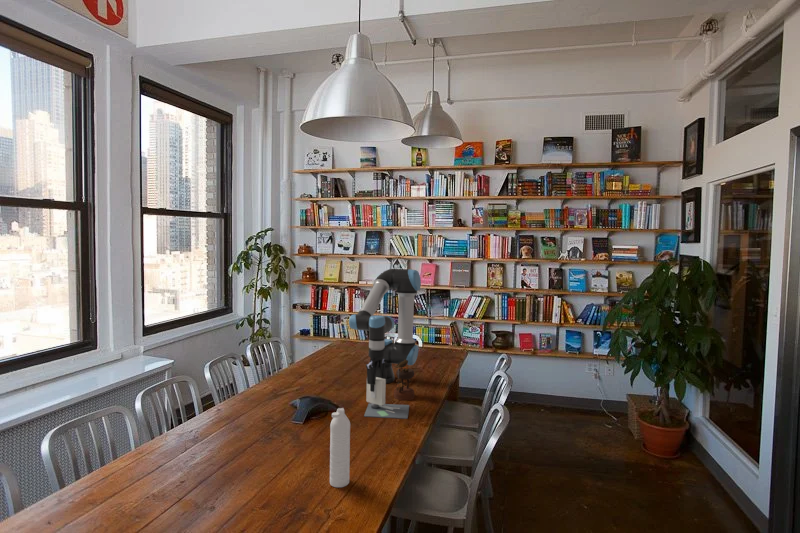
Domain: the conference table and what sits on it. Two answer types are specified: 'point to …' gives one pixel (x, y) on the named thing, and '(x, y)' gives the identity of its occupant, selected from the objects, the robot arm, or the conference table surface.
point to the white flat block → (378, 394)
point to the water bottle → (339, 449)
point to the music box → (404, 382)
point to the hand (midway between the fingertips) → (375, 396)
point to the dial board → (388, 411)
